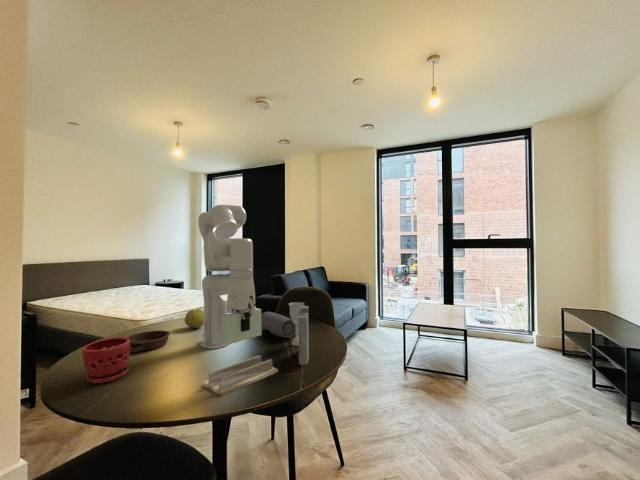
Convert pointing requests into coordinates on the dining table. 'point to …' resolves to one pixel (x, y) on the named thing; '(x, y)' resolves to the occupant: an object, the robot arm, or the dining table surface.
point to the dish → (148, 340)
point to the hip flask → (303, 335)
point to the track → (239, 375)
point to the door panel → (239, 327)
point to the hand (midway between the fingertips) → (242, 329)
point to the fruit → (195, 318)
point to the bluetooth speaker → (278, 324)
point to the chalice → (295, 318)
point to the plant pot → (106, 359)
